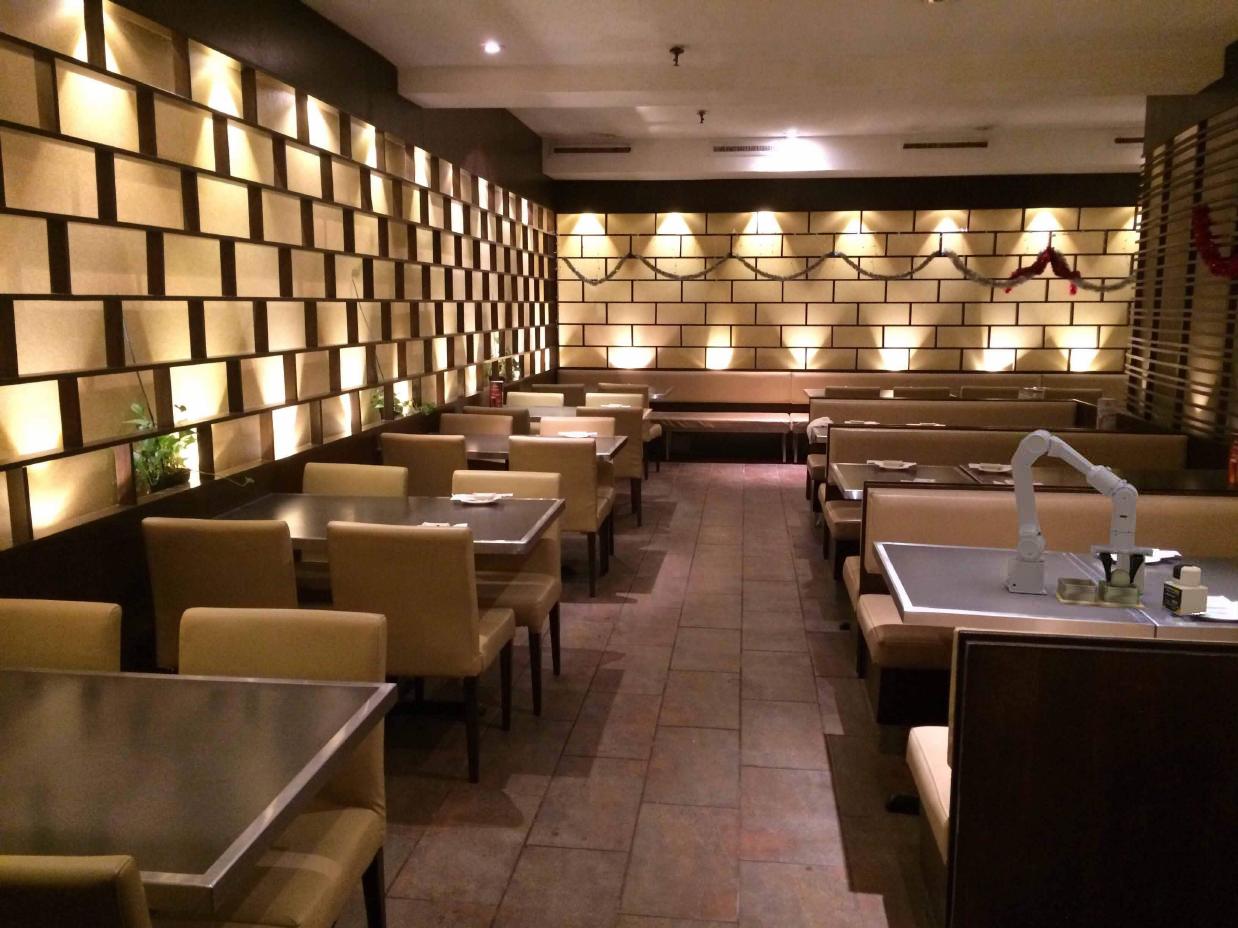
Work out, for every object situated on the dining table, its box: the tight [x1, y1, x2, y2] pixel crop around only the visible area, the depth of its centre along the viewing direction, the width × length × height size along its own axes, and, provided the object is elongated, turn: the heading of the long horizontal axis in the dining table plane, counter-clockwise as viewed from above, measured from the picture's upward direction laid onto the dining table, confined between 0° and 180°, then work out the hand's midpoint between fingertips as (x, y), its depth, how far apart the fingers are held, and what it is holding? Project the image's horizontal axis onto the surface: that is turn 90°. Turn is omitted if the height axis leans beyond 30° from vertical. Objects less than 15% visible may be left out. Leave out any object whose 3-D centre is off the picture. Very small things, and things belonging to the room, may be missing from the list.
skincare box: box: [1115, 554, 1146, 595], centre depth 265 cm, size 6×4×12 cm
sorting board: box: [1053, 576, 1146, 610], centre depth 256 cm, size 20×11×5 cm, turn 75°
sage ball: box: [1110, 568, 1130, 588], centre depth 255 cm, size 5×5×5 cm
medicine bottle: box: [1161, 563, 1209, 617], centre depth 246 cm, size 7×7×12 cm
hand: (1119, 581), depth 256 cm, fingers closed on sage ball, 5 cm apart
